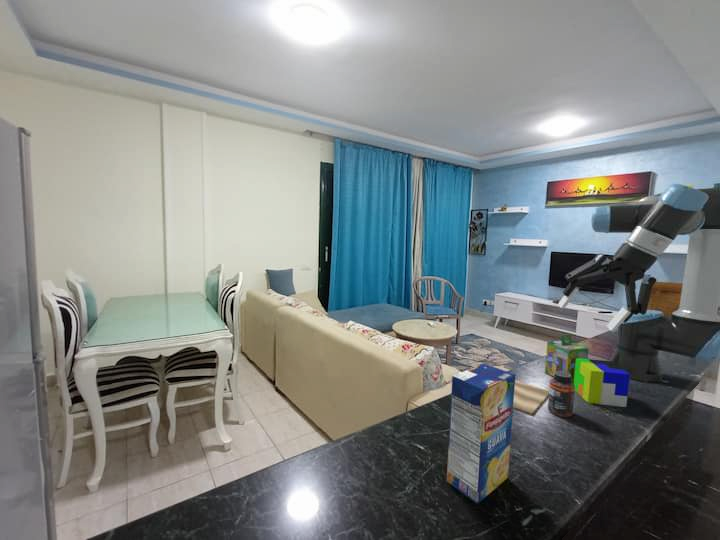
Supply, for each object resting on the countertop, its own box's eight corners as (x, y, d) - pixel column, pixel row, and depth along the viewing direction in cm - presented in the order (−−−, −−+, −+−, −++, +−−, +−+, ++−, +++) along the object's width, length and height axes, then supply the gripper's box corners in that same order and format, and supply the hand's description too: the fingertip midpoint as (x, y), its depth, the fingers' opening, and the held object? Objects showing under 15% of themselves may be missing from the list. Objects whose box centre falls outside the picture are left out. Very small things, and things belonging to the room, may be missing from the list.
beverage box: (446, 481, 66) (452, 376, 63) (477, 459, 72) (484, 363, 70) (477, 504, 60) (484, 390, 58) (507, 477, 67) (515, 374, 64)
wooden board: (510, 380, 111) (511, 379, 111) (550, 393, 103) (550, 391, 103) (488, 399, 98) (488, 397, 98) (531, 415, 90) (531, 413, 90)
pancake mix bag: (687, 345, 151) (695, 285, 148) (636, 334, 167) (643, 279, 164) (692, 343, 154) (700, 284, 151) (642, 332, 171) (648, 278, 167)
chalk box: (566, 384, 110) (571, 341, 108) (543, 372, 118) (547, 332, 116) (586, 380, 113) (591, 338, 111) (562, 369, 121) (566, 330, 119)
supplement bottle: (569, 409, 94) (572, 371, 93) (575, 420, 88) (579, 380, 87) (545, 405, 96) (548, 367, 94) (549, 415, 90) (553, 376, 89)
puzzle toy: (626, 407, 96) (630, 374, 94) (587, 403, 98) (591, 370, 96) (607, 391, 105) (611, 361, 104) (573, 387, 107) (576, 358, 106)
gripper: (597, 230, 77) (544, 303, 86) (704, 276, 74) (638, 346, 83) (585, 224, 84) (537, 291, 92) (683, 266, 81) (624, 331, 90)
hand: (585, 317), depth 88 cm, fingers open, 13 cm apart
